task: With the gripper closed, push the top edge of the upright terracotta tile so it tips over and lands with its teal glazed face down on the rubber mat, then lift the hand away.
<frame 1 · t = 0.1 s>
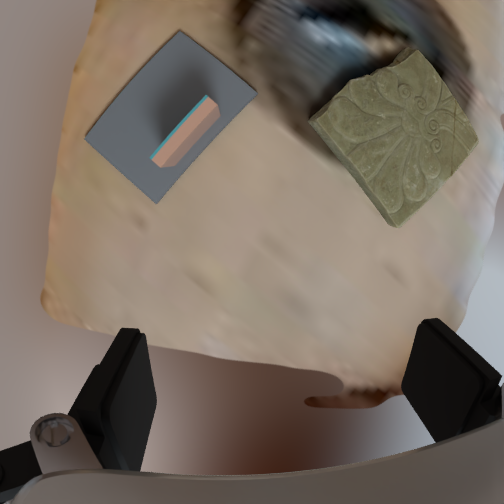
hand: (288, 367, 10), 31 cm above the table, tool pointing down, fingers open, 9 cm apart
rubber mat: (167, 114, 36), on the table
decorative tile: (398, 128, 38), on the table
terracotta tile: (192, 136, 36), point 1 cm above the table, touching rubber mat
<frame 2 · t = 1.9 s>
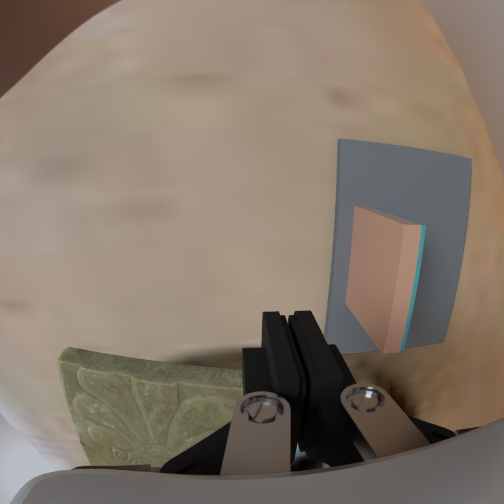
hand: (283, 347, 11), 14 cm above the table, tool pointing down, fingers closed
rubber mat: (402, 253, 26), on the table
decorative tile: (160, 428, 31), on the table
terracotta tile: (358, 256, 25), point 1 cm above the table, touching rubber mat
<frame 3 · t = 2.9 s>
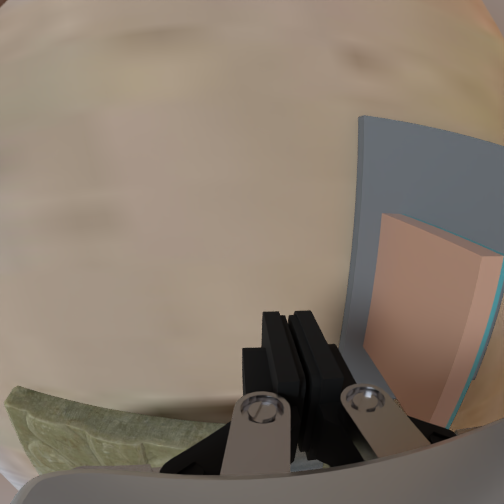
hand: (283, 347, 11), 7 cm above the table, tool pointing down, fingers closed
rubber mat: (438, 277, 18), on the table
decorative tile: (133, 475, 23), on the table
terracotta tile: (385, 284, 17), point 1 cm above the table, touching rubber mat
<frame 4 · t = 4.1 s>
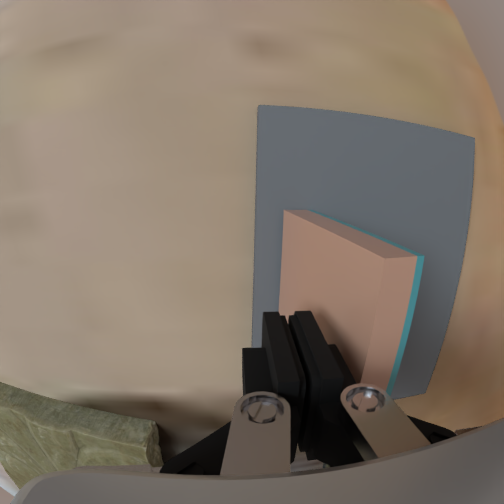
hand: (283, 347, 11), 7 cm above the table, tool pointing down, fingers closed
rubber mat: (366, 279, 18), on the table
decorative tile: (81, 465, 23), on the table
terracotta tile: (293, 287, 17), point 1 cm above the table, tilted 10°, touching rubber mat
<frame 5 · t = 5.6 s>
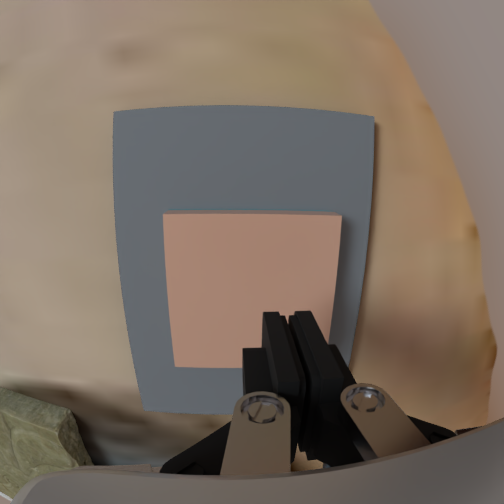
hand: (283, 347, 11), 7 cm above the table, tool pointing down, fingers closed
rubber mat: (242, 281, 17), on the table
decorative tile: (27, 450, 22), on the table
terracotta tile: (170, 292, 16), point 2 cm above the table, tilted 90°, touching rubber mat
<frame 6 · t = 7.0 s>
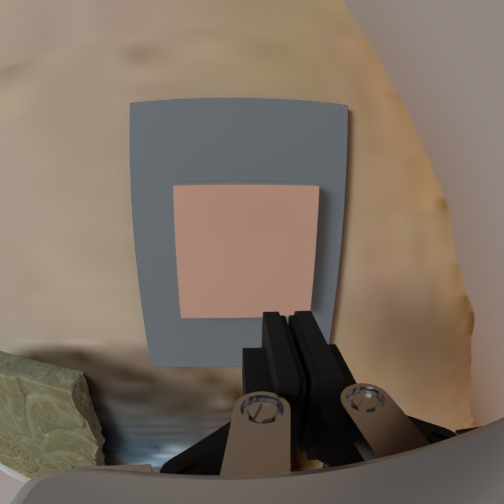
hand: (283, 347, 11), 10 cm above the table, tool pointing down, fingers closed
rubber mat: (238, 244, 21), on the table
decorative tile: (37, 420, 26), on the table
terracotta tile: (178, 252, 19), point 2 cm above the table, tilted 90°, touching rubber mat
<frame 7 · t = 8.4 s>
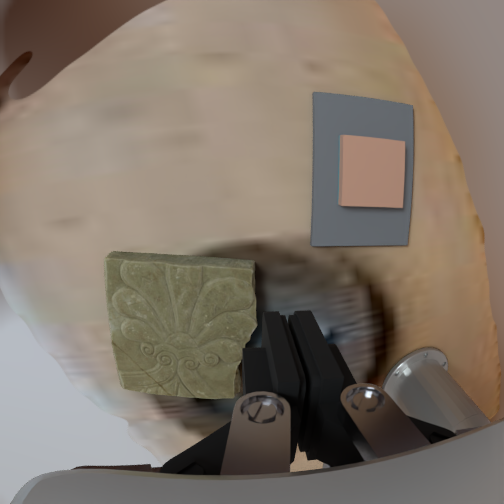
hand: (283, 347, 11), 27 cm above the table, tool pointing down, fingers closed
rubber mat: (364, 171, 36), on the table
decorative tile: (183, 326, 41), on the table
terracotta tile: (340, 170, 35), point 2 cm above the table, tilted 90°, touching rubber mat
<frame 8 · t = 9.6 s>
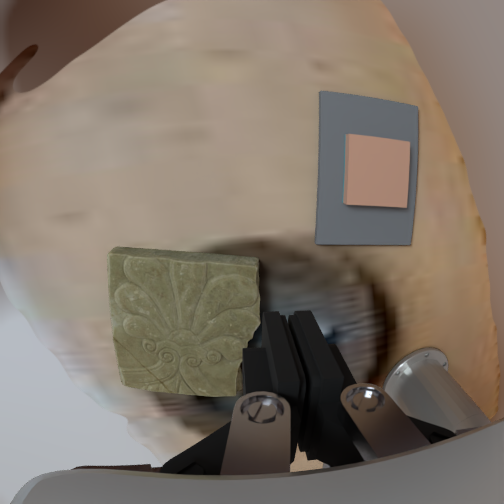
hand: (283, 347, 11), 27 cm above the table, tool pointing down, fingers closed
rubber mat: (369, 170, 36), on the table
decorative tile: (185, 323, 41), on the table
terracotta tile: (346, 168, 35), point 2 cm above the table, tilted 90°, touching rubber mat
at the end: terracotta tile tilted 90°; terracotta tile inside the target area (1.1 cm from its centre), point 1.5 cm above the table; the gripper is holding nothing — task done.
